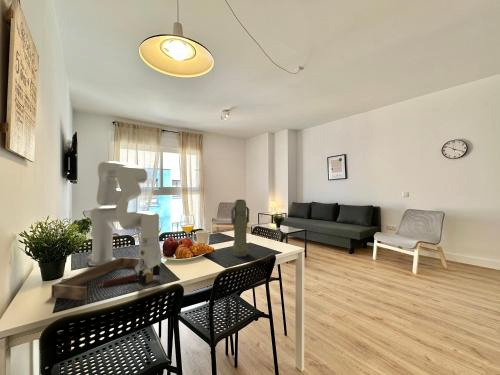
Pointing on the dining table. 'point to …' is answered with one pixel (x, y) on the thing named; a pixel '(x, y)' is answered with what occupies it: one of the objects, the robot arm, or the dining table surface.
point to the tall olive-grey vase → (240, 227)
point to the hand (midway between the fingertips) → (149, 279)
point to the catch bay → (88, 279)
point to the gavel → (128, 279)
